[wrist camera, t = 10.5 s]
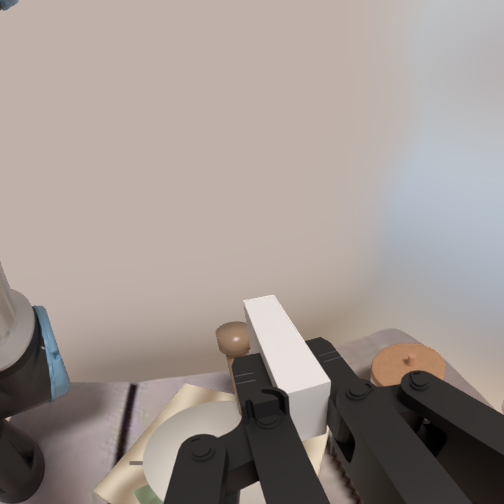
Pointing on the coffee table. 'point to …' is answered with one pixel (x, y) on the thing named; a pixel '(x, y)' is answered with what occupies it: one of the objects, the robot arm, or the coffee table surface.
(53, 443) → the coffee table surface
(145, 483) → the beige flat board
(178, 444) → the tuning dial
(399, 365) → the lidded jar
